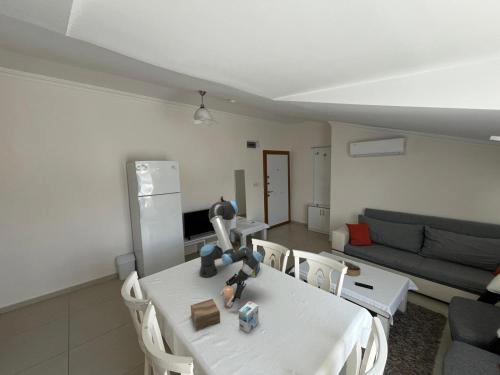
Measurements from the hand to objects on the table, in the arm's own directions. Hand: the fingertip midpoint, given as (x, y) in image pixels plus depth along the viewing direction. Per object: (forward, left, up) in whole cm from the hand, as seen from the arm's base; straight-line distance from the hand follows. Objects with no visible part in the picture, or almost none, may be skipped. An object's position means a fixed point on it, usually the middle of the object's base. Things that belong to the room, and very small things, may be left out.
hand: (224, 300), depth 142 cm
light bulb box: (+22, +7, -5) cm, 23 cm away
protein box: (-31, +36, -5) cm, 47 cm away
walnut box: (+5, -14, -4) cm, 16 cm away
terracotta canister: (0, +3, -4) cm, 5 cm away
